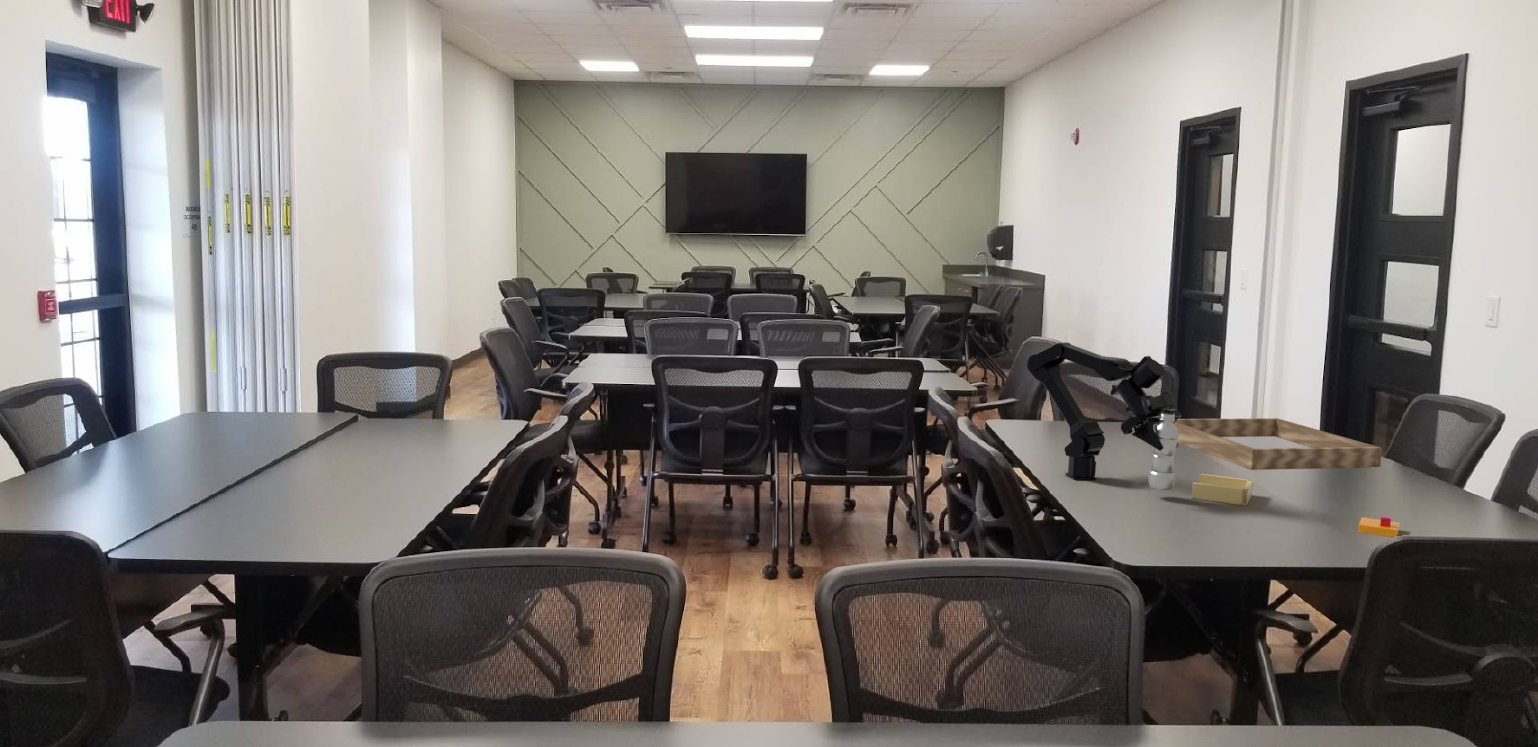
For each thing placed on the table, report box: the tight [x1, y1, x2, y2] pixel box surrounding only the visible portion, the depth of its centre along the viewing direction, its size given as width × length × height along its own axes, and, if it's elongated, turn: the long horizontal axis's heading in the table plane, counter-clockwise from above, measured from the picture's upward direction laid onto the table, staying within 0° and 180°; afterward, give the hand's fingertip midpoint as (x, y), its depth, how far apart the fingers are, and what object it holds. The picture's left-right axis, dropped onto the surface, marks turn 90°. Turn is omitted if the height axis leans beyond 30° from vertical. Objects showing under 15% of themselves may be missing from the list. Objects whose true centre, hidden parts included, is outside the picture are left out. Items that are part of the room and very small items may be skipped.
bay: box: [1190, 473, 1254, 507], centre depth 286 cm, size 13×13×4 cm
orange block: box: [1357, 515, 1401, 538], centre depth 257 cm, size 8×8×4 cm
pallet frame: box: [1174, 417, 1383, 471], centre depth 348 cm, size 43×49×6 cm
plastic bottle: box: [1147, 411, 1179, 491], centre depth 282 cm, size 6×7×20 cm
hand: (1169, 448), depth 281 cm, fingers closed on plastic bottle, 6 cm apart
